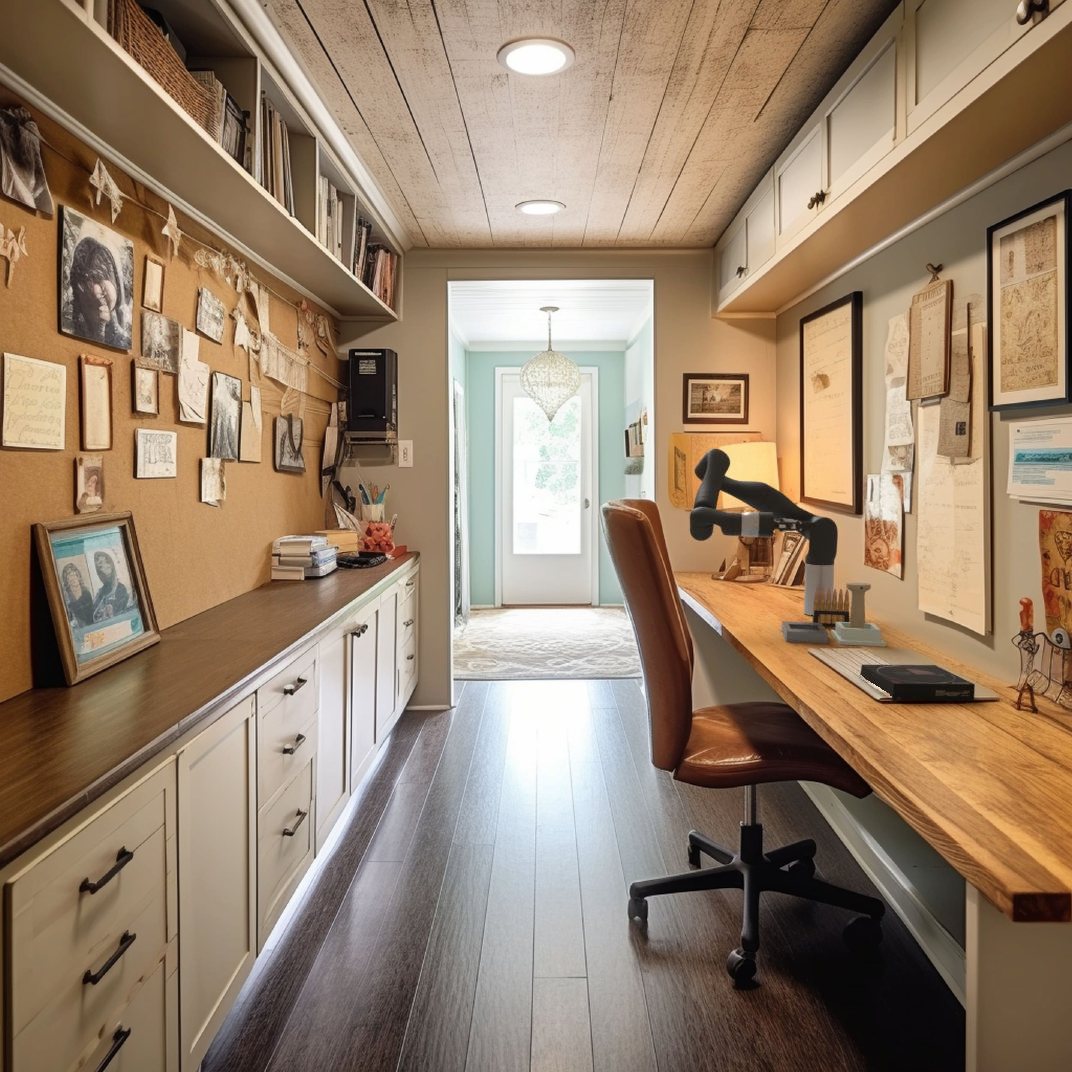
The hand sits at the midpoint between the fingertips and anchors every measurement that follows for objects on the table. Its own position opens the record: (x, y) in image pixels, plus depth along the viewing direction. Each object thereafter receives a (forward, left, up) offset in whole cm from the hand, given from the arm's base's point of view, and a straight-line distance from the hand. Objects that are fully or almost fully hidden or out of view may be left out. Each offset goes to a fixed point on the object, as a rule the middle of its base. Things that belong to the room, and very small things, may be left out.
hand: (813, 525), depth 226 cm
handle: (+9, +12, -31) cm, 34 cm away
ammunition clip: (-10, +7, -32) cm, 35 cm away
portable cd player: (+62, +14, -33) cm, 71 cm away
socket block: (+9, -3, -32) cm, 33 cm away
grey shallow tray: (+9, +12, -32) cm, 35 cm away
